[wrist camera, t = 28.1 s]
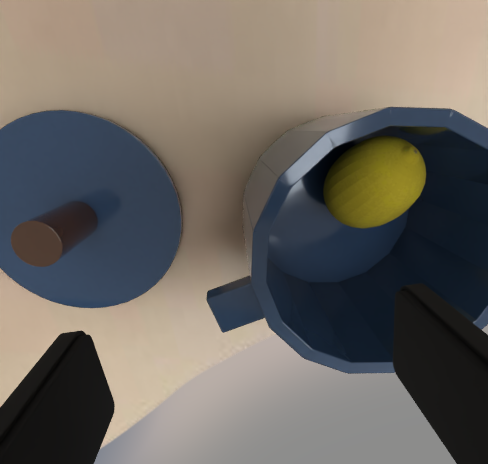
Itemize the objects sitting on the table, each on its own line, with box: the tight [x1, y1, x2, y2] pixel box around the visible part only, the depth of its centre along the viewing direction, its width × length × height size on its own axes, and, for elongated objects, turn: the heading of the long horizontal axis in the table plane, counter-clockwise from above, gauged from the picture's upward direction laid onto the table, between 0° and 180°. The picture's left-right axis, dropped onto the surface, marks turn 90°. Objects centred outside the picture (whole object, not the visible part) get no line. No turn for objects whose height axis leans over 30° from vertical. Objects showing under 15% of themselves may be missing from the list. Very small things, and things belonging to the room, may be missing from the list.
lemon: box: [323, 136, 426, 228], centre depth 21 cm, size 6×6×8 cm
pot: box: [207, 107, 488, 373], centre depth 21 cm, size 15×20×10 cm
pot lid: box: [0, 110, 182, 308], centre depth 22 cm, size 16×16×7 cm
